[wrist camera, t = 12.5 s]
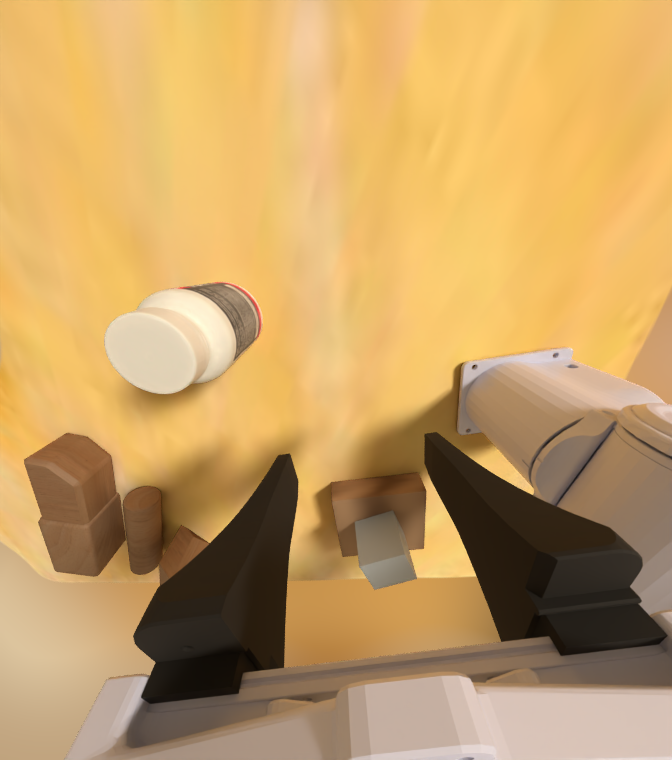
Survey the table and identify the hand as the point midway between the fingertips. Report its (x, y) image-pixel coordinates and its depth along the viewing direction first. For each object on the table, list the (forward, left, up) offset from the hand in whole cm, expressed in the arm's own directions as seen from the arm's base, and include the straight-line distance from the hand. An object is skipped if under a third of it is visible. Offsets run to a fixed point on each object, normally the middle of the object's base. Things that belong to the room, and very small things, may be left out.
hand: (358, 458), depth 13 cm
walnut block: (-1, +18, -11) cm, 21 cm away
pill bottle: (+9, -7, -11) cm, 15 cm away
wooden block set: (+25, +13, -11) cm, 30 cm away
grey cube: (-1, +18, -8) cm, 20 cm away
